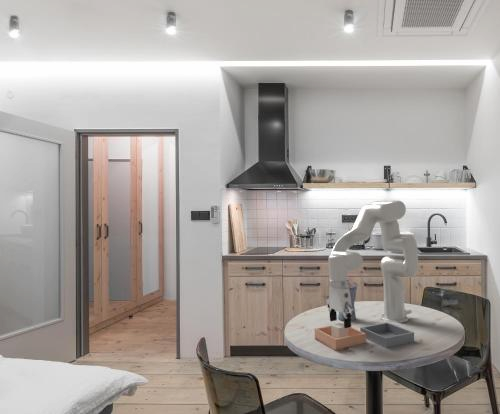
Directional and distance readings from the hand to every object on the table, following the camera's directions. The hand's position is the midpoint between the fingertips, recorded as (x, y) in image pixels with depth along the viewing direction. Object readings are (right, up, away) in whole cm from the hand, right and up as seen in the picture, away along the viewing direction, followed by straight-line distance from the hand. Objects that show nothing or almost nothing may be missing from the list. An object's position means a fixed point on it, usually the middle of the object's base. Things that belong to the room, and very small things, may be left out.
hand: (340, 324), depth 156 cm
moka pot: (+10, -7, +30) cm, 33 cm away
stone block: (0, -7, 0) cm, 7 cm away
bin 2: (+19, -7, -1) cm, 21 cm away
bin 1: (0, -7, 0) cm, 7 cm away
